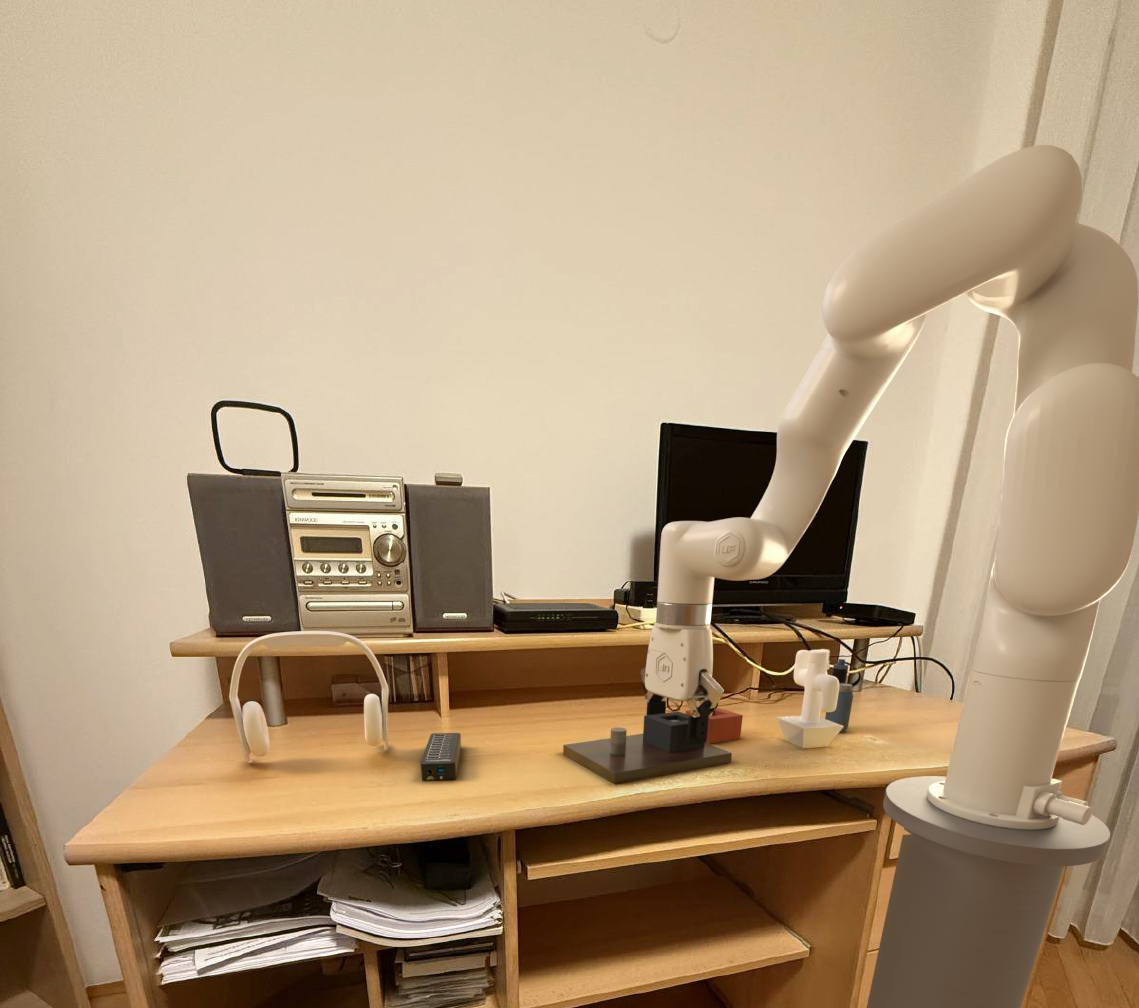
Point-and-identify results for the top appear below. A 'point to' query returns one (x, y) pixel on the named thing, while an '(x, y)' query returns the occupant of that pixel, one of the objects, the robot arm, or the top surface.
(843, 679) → the vaping device
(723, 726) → the red square holed block
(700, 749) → the pegboard
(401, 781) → the top surface
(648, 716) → the dark grey hollow block
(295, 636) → the headset
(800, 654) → the figurine
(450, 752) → the multiport hub
